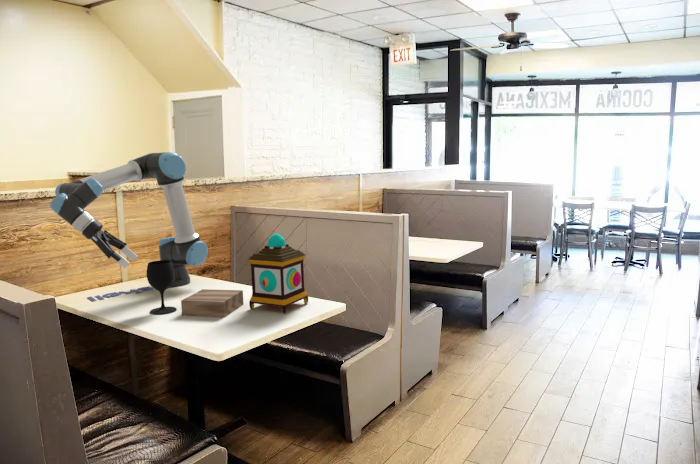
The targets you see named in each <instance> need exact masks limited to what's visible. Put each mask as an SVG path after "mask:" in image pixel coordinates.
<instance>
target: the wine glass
mask: <svg viewBox="0 0 700 464" xmlns="http://www.w3.org/2000/svg"><path fill="white" fill-rule="evenodd" d="M146 279H147V280H146V281H148V284H149V285H150V287H151V288H153V290H156V291H158V292H159V295H160V301H161V304H160V306H159V307H156V308H153V309H151V310H150V311H149V314H151V315H156V316H157V315H167V314H172V313H175V312H176V311H178V309H177V307H175V306H165V305H166V304H165V299H164V298H165V297H164V294H165V291H166V290H167V289H168V288H170V287H169V286H170V285H171V284H172V282H173V279H174V269H173V265H172V263H171V261H169V260H160V259H159V260H153V261H149V262H148V263H147V268H146Z"/></svg>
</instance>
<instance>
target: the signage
mask: <svg viewBox="0 0 700 464" xmlns="http://www.w3.org/2000/svg"><path fill="white" fill-rule="evenodd" d="M153 290H154V288H153V287H151V286H143V287H138V288H137V289H134V288H133V289H130V291H129V290H127V291H118V292H116V291H115V292H110V293H105V294H102V296H101V295H99V294H98V295H95V296H94V297H92V296H89V297H86V299H87V300H89V301H90V302H93V303H94V302H97V299H98V300H99V301H104V300H105V298H107V299H110V298H115V297H119V296H121V295H122V294H125V295H130V294H132V293H135V294H137V295H138V294H141V293H142V292H149V291H153Z"/></svg>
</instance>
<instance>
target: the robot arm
mask: <svg viewBox="0 0 700 464" xmlns="http://www.w3.org/2000/svg"><path fill="white" fill-rule="evenodd" d="M186 170H187V164H186V162H185V160H184V158H183V157H182V156H181V155H179V154H178V153H177V152H170V151H167V152H151V153H150V152H149V153H147V154H144V155H142V156H139V157H136V158H135V159H134V158H133V159H131V160H129V161H128V162H127V164H123V165H120V166H116V167H114V168H112V169H107V170H105V171H102V172H99V173H96V174H93V175H90V176H87V177H83V178H81V179H78V180H73V181H71V182H63V183H60V184H58V185H57V186H56V187H55V189H54V194H55V197H54V198H53V199H52V200H51V202H50V204H49V207H50V209H51V210H52V211H53V212H54V213H55V214H56V215H57V216H59V217H60V218H62V219H63V221H65V222H67V224H69V225H70V226H71V227H72V228H73V230H74V231H78V232H79V233H81V234H82V236H83V237H85V238H86V239H87V240H91V241H92V242H93V243H94V244H95V245H96V246H97V248H99V250H101V252H102V253H103V254H104V255H105V256H106V257H107V258H108V259H110V258H111V259H113V260H114V261H115V262H116V263H118V265H120V266H121V267H123V268H124V269H125V268H126V267H128V265H129V264H131V262H130V261H129V260H127V259H126V258H125V257H124V256H126V257H127V258H128V259H130V260H131V261H132V262H135V261H136V260H137V259H138V258H139V256H138V254H136V253H135V252H134V251H132V250H131V249H130V248H129V247H128V246H127V245H128V244H127V243H126V242H124V241H123V240H121V239H119V237H118V238H117V237H116V236H115V235H113V234H111V233H110V232H108V231H107V230H102V229H103V227H104V225H103V224H102V223H101V222H100V221H99V220H97V219H95V217H93V216H92V215H91V214H90V213H89V212H88V211H86V210H85V208H87V207H88V206H89V205H90V204H92V202H94V201H95V200H96V199H98V198H99V197H100V196H101V195H102V194H103V192H104V191H106V190H109V189H112V188H115V187H118V186H121V185H123V184H127V183H129V182H131V181H136V182H139V181H141V180H146V179H147V180H148V179H156V183H157V186H159V187H160V188H161V189H162V191H163V195H164V197H165V201H166V204H167V208H168V212H169V215H170V219H171V222H172V227H173V229H174V233H175V234H174V235H176V236H169V237H165V238H160V239H159V241H158V251H159V261H160V260H169V261H171V263H172V265H173V269H174V279H173V282H172V284H171V285H170V286H169V287H168V288H170V287H179V286H180V287H181V286H185V285H189V284H190V283H191V275H190V274H189V272H188V269H187V265H188V266H200V265H202V264H203V263H204V262H205V261H206V259H207V258H208V254H209V248H208V246H207V243H206V242H204V241H202V240H201V237H200V234H199V233H197V232H196V231H195V228H194V223H193V220H192V217H191V213H190V209H189V205H188V202H187V199H186V193H185V191H184V190H185V189H184V187H183V181H184V180H185V178H184V175H185V174H186ZM113 247H114V248H116V249H118V250H120V252H121V253H123V254H124V256H122V255H121V254H120V253H119V252H118V251H115V250H114V248H113Z"/></svg>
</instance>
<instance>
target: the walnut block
mask: <svg viewBox="0 0 700 464" xmlns="http://www.w3.org/2000/svg"><path fill="white" fill-rule="evenodd" d="M180 304H181V306H180V307H181V316H183V317H184V316H191V317H210V318H211V317H214V318H216V317H217V318H219V317H220V318H226V317H227V316H229V315H231V314H232V313H233V312H234V311H236V310H238V309H239V308H241V307H242V306H244V291H243V290H242V289H241V290H240V289H203V288H202V289H200V290H199V291H197V292H194V293H193V294H191V295H189V296H187V297H185V298H183V299H181V300H180Z"/></svg>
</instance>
